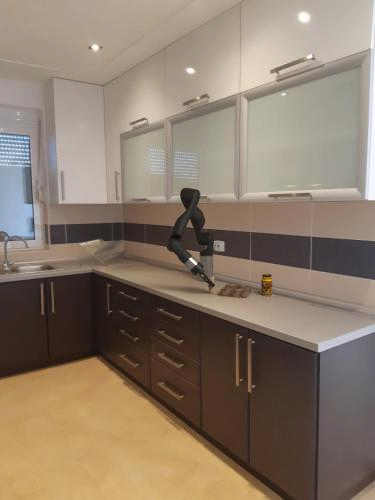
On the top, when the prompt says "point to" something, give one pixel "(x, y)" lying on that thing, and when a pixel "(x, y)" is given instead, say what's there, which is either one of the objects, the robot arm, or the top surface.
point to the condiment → (266, 285)
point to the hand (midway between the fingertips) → (213, 284)
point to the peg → (211, 289)
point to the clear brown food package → (236, 291)
